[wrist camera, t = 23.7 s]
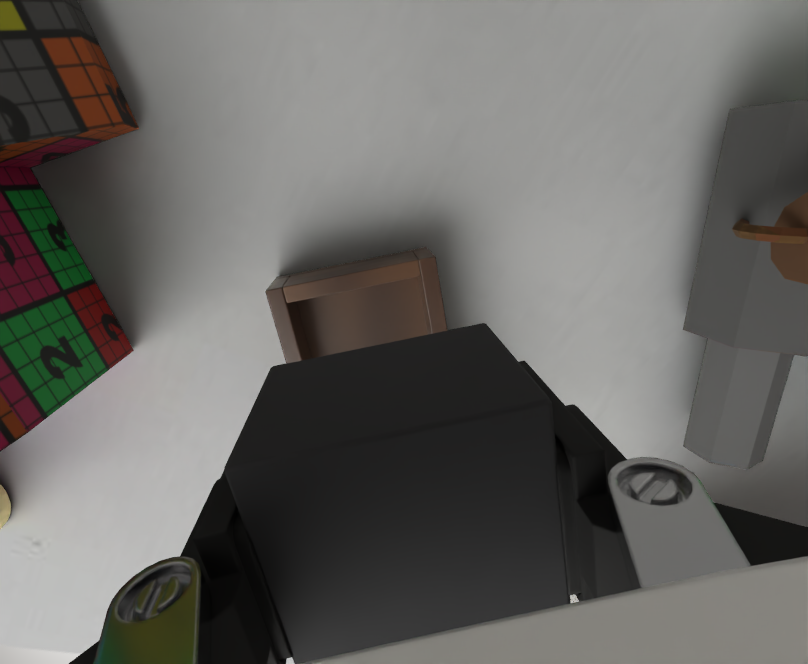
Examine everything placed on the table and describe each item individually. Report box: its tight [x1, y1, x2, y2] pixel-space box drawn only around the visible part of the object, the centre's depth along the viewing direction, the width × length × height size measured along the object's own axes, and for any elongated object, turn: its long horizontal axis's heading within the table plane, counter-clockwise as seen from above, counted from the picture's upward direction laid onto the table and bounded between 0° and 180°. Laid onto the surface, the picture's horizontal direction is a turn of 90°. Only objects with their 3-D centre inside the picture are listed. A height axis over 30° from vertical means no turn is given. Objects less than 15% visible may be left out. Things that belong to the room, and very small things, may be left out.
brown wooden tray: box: [266, 247, 448, 363], centre depth 26 cm, size 8×15×3 cm, turn 11°
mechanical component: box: [683, 100, 808, 470], centre depth 22 cm, size 10×18×10 cm, turn 179°
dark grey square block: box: [224, 323, 570, 664], centre depth 10 cm, size 5×5×4 cm
